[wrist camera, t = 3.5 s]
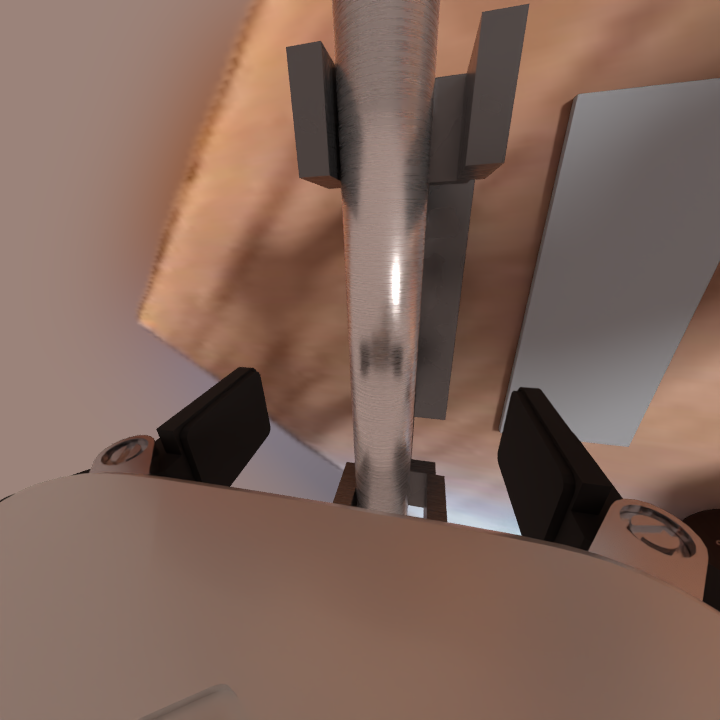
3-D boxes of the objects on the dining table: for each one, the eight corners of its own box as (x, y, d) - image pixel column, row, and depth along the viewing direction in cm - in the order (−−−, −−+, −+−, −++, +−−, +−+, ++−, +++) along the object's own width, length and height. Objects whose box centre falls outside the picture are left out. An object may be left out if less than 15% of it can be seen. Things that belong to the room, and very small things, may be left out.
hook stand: (364, 146, 21) (245, 1, 7) (477, 136, 19) (594, -77, 6) (368, 403, 31) (321, 544, 17) (444, 411, 29) (458, 574, 16)
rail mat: (573, 98, 18) (578, 94, 17) (801, 72, 15) (814, 67, 15) (498, 428, 29) (500, 432, 28) (624, 442, 26) (628, 446, 26)
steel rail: (366, 35, 10) (308, -24, 7) (455, -2, 8) (417, -90, 6) (372, 508, 20) (349, 545, 18) (412, 529, 18) (393, 573, 16)
